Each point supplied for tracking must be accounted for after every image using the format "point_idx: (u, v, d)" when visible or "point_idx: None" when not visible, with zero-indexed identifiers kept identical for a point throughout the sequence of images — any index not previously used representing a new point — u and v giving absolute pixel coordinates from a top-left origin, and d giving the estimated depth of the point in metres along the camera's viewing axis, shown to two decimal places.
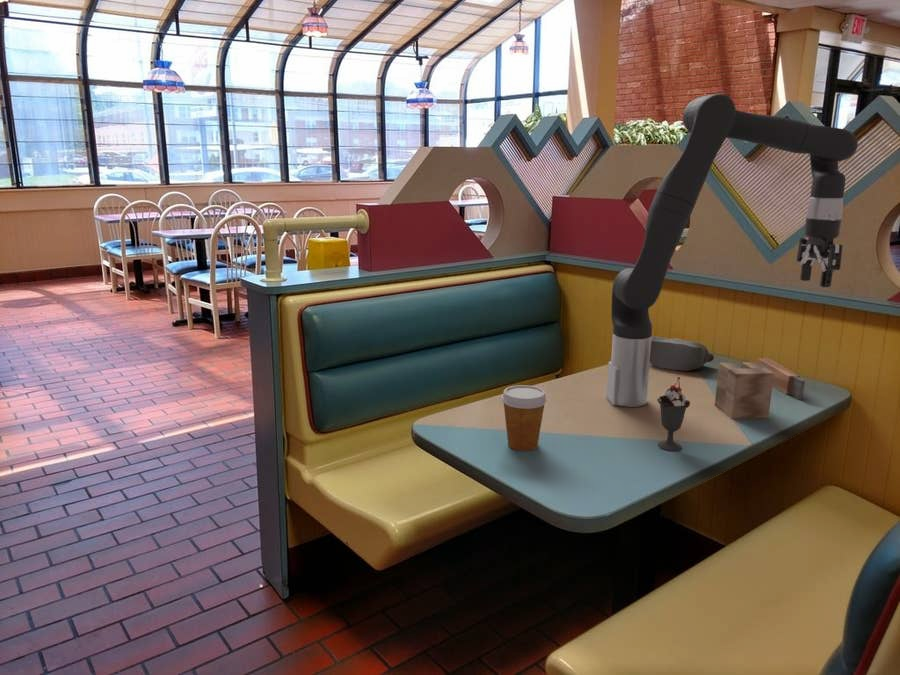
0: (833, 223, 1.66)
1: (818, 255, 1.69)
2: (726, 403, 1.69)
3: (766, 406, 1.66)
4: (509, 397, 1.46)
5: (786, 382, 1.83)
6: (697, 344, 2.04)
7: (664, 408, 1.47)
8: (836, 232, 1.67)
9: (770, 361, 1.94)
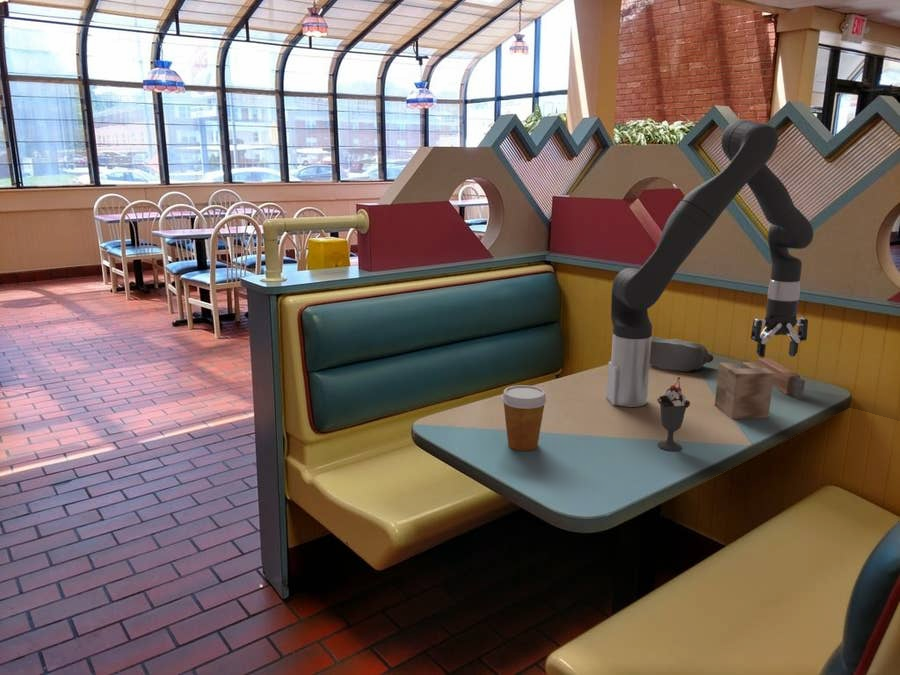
0: None
1: (792, 331, 1.87)
2: (726, 403, 1.69)
3: (766, 406, 1.66)
4: (509, 397, 1.46)
5: (786, 382, 1.83)
6: (697, 344, 2.03)
7: (664, 408, 1.47)
8: None
9: (770, 361, 1.94)
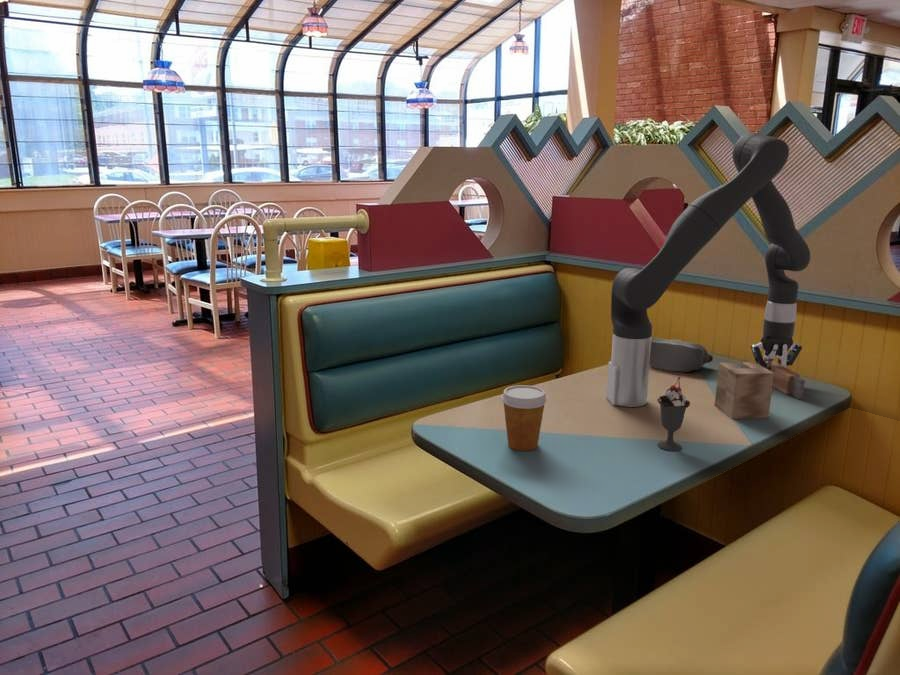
0: None
1: (785, 353, 1.89)
2: (726, 403, 1.69)
3: (766, 406, 1.66)
4: (509, 397, 1.46)
5: (786, 382, 1.83)
6: (696, 345, 2.03)
7: (664, 408, 1.47)
8: None
9: None
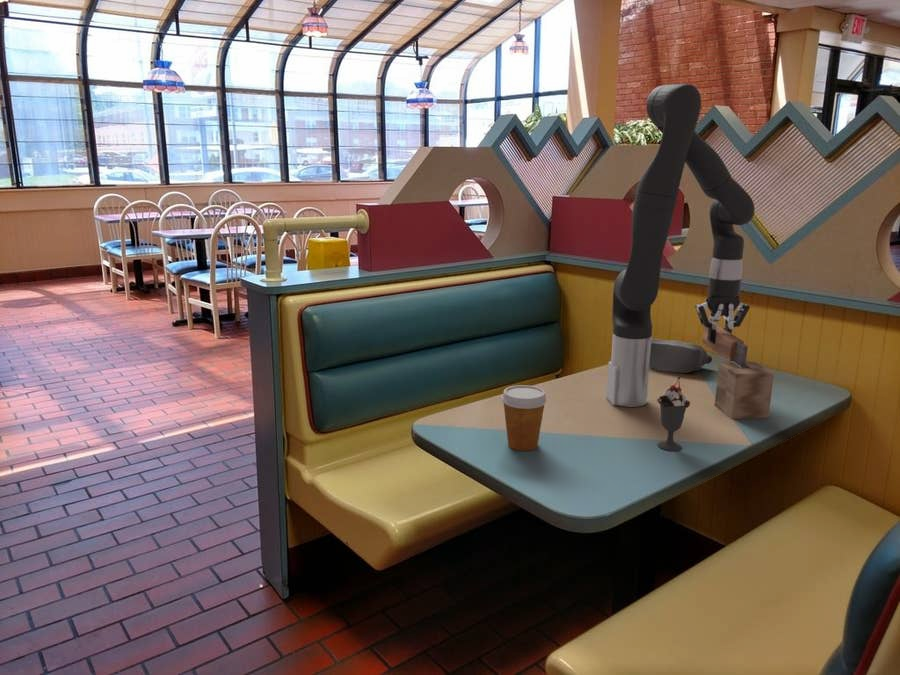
0: None
1: (731, 313, 1.78)
2: (726, 403, 1.69)
3: (766, 406, 1.66)
4: (509, 397, 1.46)
5: (729, 348, 1.73)
6: (695, 346, 2.02)
7: (664, 408, 1.47)
8: None
9: (716, 327, 1.84)
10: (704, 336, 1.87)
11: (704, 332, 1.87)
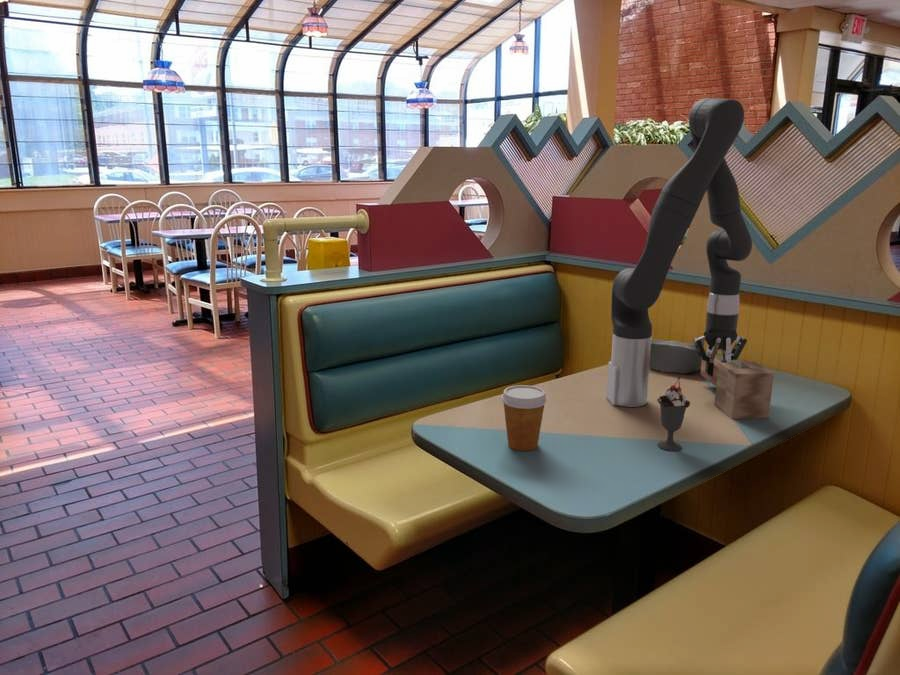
0: None
1: (729, 347, 1.80)
2: (726, 403, 1.69)
3: (766, 406, 1.66)
4: (509, 397, 1.46)
5: None
6: None
7: (664, 408, 1.47)
8: None
9: (714, 359, 1.86)
10: (702, 368, 1.89)
11: (702, 364, 1.89)
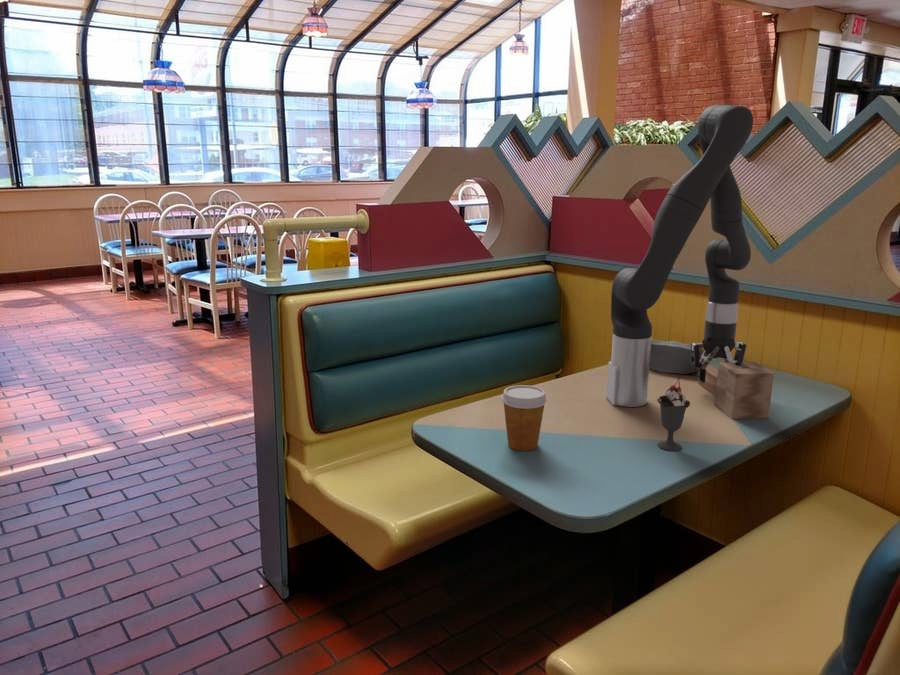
0: None
1: (729, 355, 1.81)
2: (726, 403, 1.69)
3: (766, 406, 1.66)
4: (509, 397, 1.46)
5: None
6: None
7: (664, 408, 1.47)
8: None
9: (712, 369, 1.87)
10: None
11: None
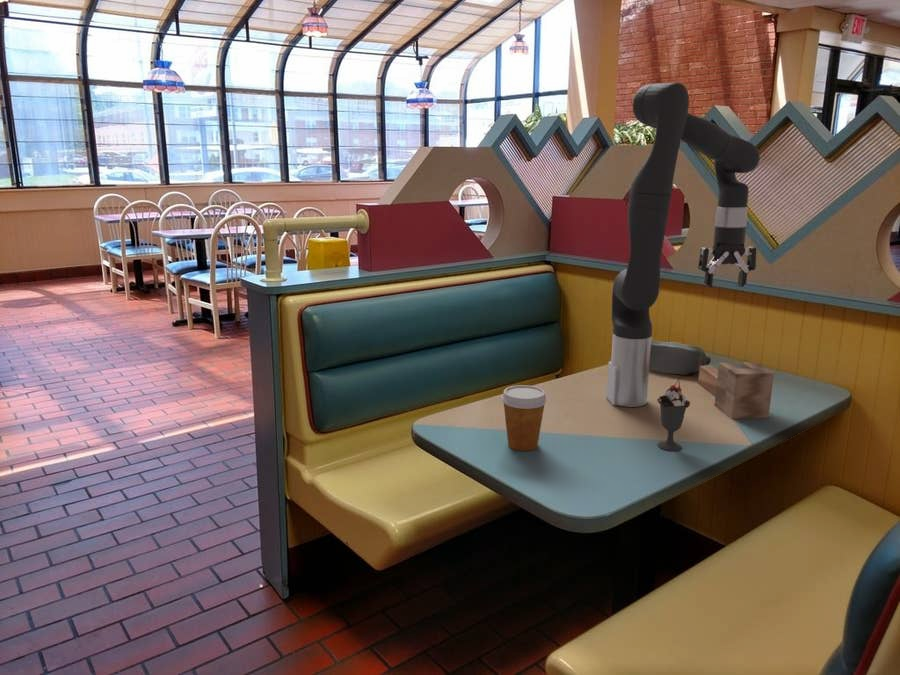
0: None
1: (740, 259, 1.83)
2: (726, 403, 1.69)
3: (766, 406, 1.66)
4: (509, 397, 1.46)
5: None
6: (694, 347, 2.00)
7: (664, 408, 1.47)
8: None
9: (712, 369, 1.87)
10: (700, 377, 1.90)
11: (700, 373, 1.90)
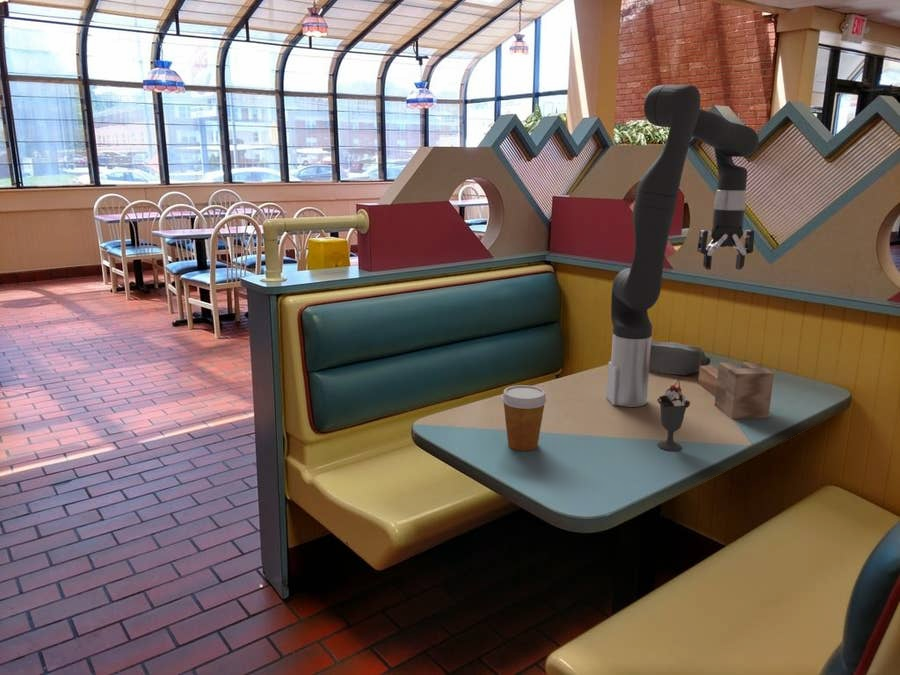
0: None
1: (738, 242, 1.86)
2: (726, 403, 1.69)
3: (766, 406, 1.66)
4: (509, 397, 1.46)
5: None
6: (694, 348, 2.00)
7: (664, 408, 1.47)
8: None
9: (712, 369, 1.87)
10: (700, 377, 1.90)
11: (700, 373, 1.90)
